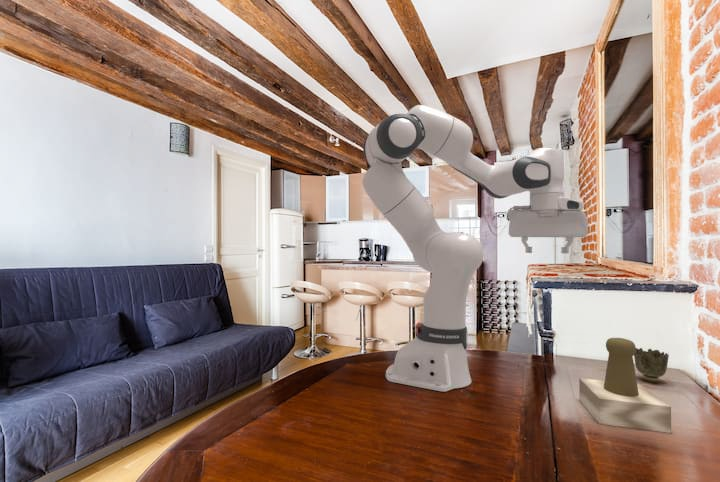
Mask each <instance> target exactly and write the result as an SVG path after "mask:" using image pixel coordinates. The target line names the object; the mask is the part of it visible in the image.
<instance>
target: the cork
mask: <svg viewBox="0 0 720 482" xmlns="http://www.w3.org/2000/svg"><path fill="white" fill-rule="evenodd" d="M605 348H606V351H607V352H608V358H607V364H606V370H605V371H606V372H605V375H604V376H605V377H604V381H605V382H604V389H605V390H607V391H608V392H611V393H614V394H617V395H622V396H629V397H635V396H638V395H639V393H638V386H637V384H638V382H637V381H638V380H637V376H636V370H635V369H636V367H635V361H634V354H635V353H636V348H637V347H636V344H635V342H634V341H632V340H630V339H627V338H622V337H611V338H608V339H607V340H606V342H605Z"/></svg>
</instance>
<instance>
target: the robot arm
mask: <svg viewBox="0 0 720 482" xmlns="http://www.w3.org/2000/svg"><path fill="white" fill-rule="evenodd" d="M473 144H474V134H473V130H472V129H471V127H470V126H469V125H468V124H467V123H466V122H464V121H463V120H461V119H459V118H457V117H455V116H453V115H451V114H449V113H448V112H445V111H443V110H441V109H438V108H435V107H432V106H428V105H423V104H417V105H414V106H413V107H412V108H410V109H409V110H408V111H407V113H394V114H391V115H388V116H386V117H385V118H384V119H382V121H381V122H380V123H378V124H377V125H376V126H374V127H373V128H372V130H371V131H370V132H369V134H368V135H367V136H366V138H365V140H364V143H363V148H362V149H363V157H364V159H365V163H366V167H367V170H366V172H365V173H364V175H363V177H362V187H363V189H364V191H365V193H366V194H367V195H368V197H369V199H370V201H371V202H372V203H373V205H374V206H375V207H376V209H378V211H379V212H380V213H381V214H382V216H383V217H384V218H385V219H386V220H387V221H388V222H389V223H390V225H391V226H392V227H393V228H394V229H395V230H396V232H397V233H398V234H399V235H400V236H401V238H402V240H403V241H404V242H405V244H406V245H407V247H408V248H409V251H410V252H411V254H412V258H413V261H414V262H415V264H416V265H417V266H419V268H421V269H423V270H424V271H426V272H429V273H432V274H431V278H430V282H429V286H428V288H427V289H426V291H425V292H424V294H423V302H422V303H423V305H422V306H423V313H422V315H423V319H422V320H423V322H421V321H420V322H419V321H418V322H416V324H415V327H414V328H415V337H414V338H412V339H411V340H410V341H408V342H407V343H406V344H404V345H402V347H401V348H399V349H398V351H397V352H396V355H395V356H394V357H395V358H394V363H392V364H390V365H389V366H388V367H387V369H386V370H385V378H386V380H387V381H388V382H391V383H397V384H400V385H401V384H402V385H407V386H411V387H416V388H420V389H426V390H432V391H438V392H448V391H451V390H454V389H460V388H465V387H468V386H470V385H471V384H472V378H471V375H470V369H469V363H468V358H467V348H468V338H469V337H468V328H467V326H466V317H467V316H466V311H467V295H468V291H469V288H470V284H471V280H472V277H473V276H474V273H475V272H476V271H477V270H478V269H479V268H480V267H481V265H482V263H483V261H484V249H483V245H482V243H481V241H480V240H478V239H477V238H476V237H475V236H473V235H471V234H467V233H464V232H461V231H460V232H459V231H455V232H454V231H453V232H445V231H444V230H443V229H441V227H440V225H439V224H438V222H437V220H436V217H435V215H434V214H435V213H434V212H435V211H434V208H433V206H432V205H431V204H430V203H429V201H428V200H427V199H426V198H425V197H424V195H423V194H422V193H421V192H420V191H419V190H418V188H417V187H416V186H415V185H414V184H413V183H412V181H410V180H409V178H408V177H406V174H405V172H404V170H403V168H402V167H403V166H402V162H403V161H405V160H406V159H407V158H408V157H410V156H412V154H413V153H414V152H415V151H416V150H417V149H419V150H423V151H424V152H426V153H428V154H430V155H432V156H433V157H436V158H438V159H439V160H442V161H444V162H445V163H446V164H447V165H449V167H451V168H452V169H453V170H456V172H459V173H460V174H462V175H463V176H465V177H467V178H468V179H470V180H472V181H473V182H476V183H477V184H478V185H479V186H480V187H481V188H483V190H484V191H485V192H486V193H487V194H488V195H489V196H490V197H493V198H494V199H499V200H500V199H505V198H507V197H510V196H514V195H517V194H522V193H524V192H529V205H513V206H512V207H509V209H508V211H507V218H508V220H509V224H508V235H509V237H510V238H521V243H522V245H523V246H524V247H525V251H524V252H525V254H532V253H533V246H530V245H529V244H528V242H527V241H528V240H529V238H565V242H566V243H565V246H561V247H560V249H561V251H560V252H561V254H569V253H570V252H569V251H570V249H569V248H570V247H571V245H573V243H574V238H585V237H586V236H588V233H589V223H588V218H587V217H588V216H587V214H586V212H584V211H583V209H584V206H585V205H584V203H583V202H582V201H579V200H576V199H571V198H568V197H565V191H564V186H563V185H564V182H565V165H564V164H565V163H564V158H563V154H562V152H561V151H560V150H559V149H557V148H553V147H550V146H547V147H540V148H539V147H538V148H535V149H534V150H533V151H532V152H531V153H529V154H526V155H525V156H521V157H520V156H519V157H518V158H514V159H512V160H509V161H507V162H505V163H502V164H497V165H492V164H489V163H487V162H485V161H484V160H482V159H481V158H479V157H478V156H476V155H475V154H473V153H472V152H471V150H472V147H473Z"/></svg>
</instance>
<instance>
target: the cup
mask: <svg viewBox="0 0 720 482" xmlns="http://www.w3.org/2000/svg"><path fill="white" fill-rule="evenodd" d="M669 357H670V356H669V353H668V352H666V353H665V352H664V351H662V352H660V350H659V349H655V350H652V348H648V349H647V351H646V350H644V349H643V348H641V347H640V348H638V347H636V353H635V354H634V355H633V360H634V366H635V369H636V370H637V371H638V372H639V373H640V374H642V376H641V378H642V380H644V381H645V382H648V383H653V384H657V383H659V382H660V377H663V376H665V374H666V372H667V368H668V363H669V362H668V361H669Z"/></svg>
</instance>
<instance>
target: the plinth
mask: <svg viewBox="0 0 720 482" xmlns="http://www.w3.org/2000/svg"><path fill="white" fill-rule="evenodd" d="M578 382H579V384H578V386H579V388H578V389H579V391H578V392H579V393H578V394H579V395H578V396H579V397H578V398H579V399H578V400H579V402H580V403H581V404H582V405H583V406H584V408H586V410H587V409H588V410H587V411H588V412H589V413H590V414H591V415H592V417H593V418H594V419H595V420H596V422H597V423H598V424H599V425H605V426H606V425H607V426H614V427H620V426H621V428H628V429H639V430H646V431H650V432H651V431H653V432H660V433H666V434H667V433H669V434H671V433H672V406H671V405H670V404H668V403H667V402H666V401H664V400H662V399H661V398H660V397H658V396H657V395H656V394H654V393H653V392H651V391H650V390H648V388H646V387H644V386H643V385H642V384H640V383H637V386H638V393H639V395H638V396H635V397H629V396H622V395H617V394H614V393H611V392H608V391H607V390H605V389H604V382H605V380H603V379H602V380H601V379H591V378H582V377H579V381H578Z"/></svg>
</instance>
